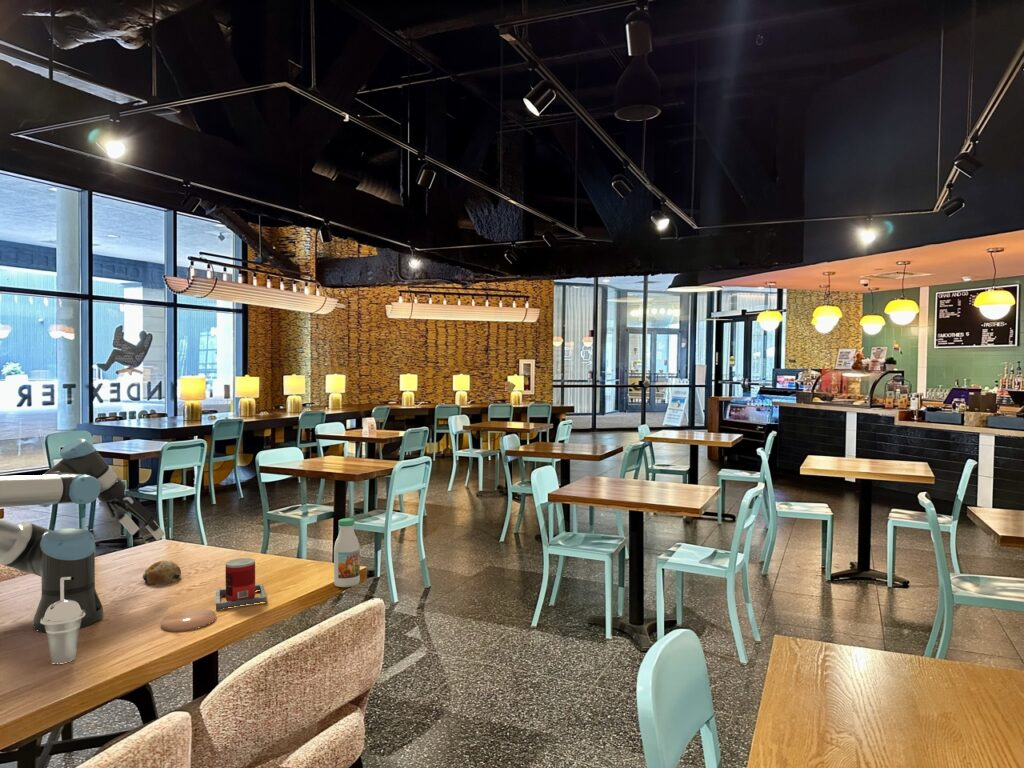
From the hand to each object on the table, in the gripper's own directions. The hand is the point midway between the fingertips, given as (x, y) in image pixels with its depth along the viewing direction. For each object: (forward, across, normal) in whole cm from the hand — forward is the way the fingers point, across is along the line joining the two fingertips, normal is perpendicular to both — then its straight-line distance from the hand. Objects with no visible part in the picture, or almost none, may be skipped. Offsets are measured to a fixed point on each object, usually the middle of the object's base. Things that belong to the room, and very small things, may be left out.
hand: (148, 534), depth 204 cm
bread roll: (+15, 0, +6) cm, 16 cm away
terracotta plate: (+5, -40, +20) cm, 45 cm away
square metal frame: (+16, -37, +5) cm, 41 cm away
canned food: (+16, -37, +5) cm, 41 cm away
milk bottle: (+31, -53, -16) cm, 64 cm away
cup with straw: (-12, -38, +43) cm, 59 cm away
